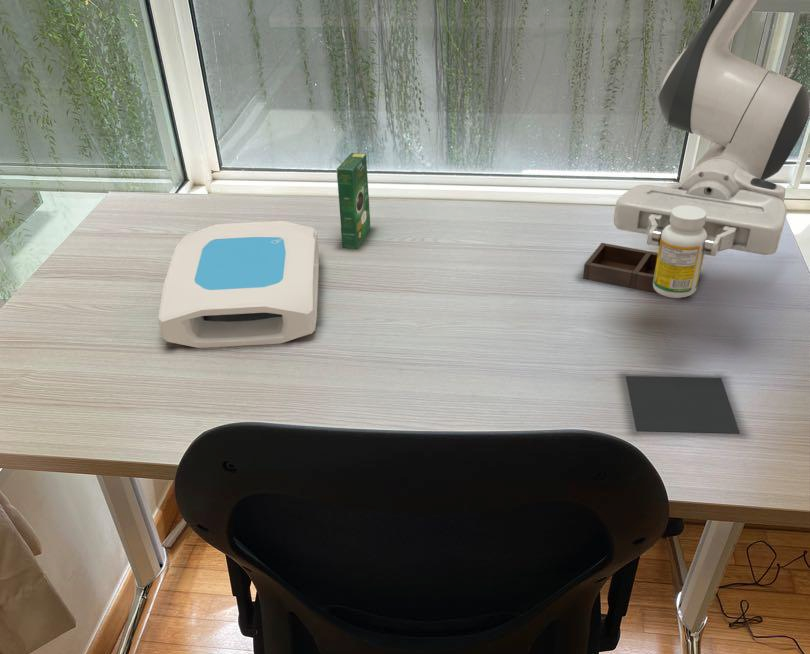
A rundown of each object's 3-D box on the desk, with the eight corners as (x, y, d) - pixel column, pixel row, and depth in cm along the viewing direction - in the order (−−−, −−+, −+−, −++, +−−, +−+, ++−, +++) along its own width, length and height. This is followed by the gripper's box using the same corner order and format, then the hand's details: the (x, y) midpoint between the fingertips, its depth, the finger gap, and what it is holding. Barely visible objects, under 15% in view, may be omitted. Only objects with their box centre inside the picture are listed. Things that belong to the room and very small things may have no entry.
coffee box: (355, 230, 149) (350, 150, 140) (371, 231, 149) (367, 151, 140) (341, 250, 143) (334, 168, 135) (357, 251, 143) (352, 170, 134)
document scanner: (164, 352, 121) (154, 311, 117) (189, 262, 142) (182, 224, 138) (316, 343, 122) (311, 302, 117) (319, 255, 142) (315, 217, 138)
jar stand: (697, 277, 133) (700, 260, 131) (683, 301, 128) (686, 283, 126) (599, 259, 138) (601, 242, 136) (582, 281, 133) (584, 263, 131)
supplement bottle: (678, 303, 105) (693, 225, 99) (642, 288, 109) (655, 211, 102) (705, 288, 108) (722, 212, 101) (670, 274, 111) (684, 199, 104)
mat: (720, 380, 112) (721, 377, 112) (738, 436, 103) (739, 432, 103) (625, 379, 113) (625, 375, 113) (635, 434, 104) (636, 430, 104)
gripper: (635, 164, 114) (600, 203, 105) (799, 188, 106) (776, 232, 98) (628, 212, 118) (594, 253, 109) (785, 238, 111) (762, 285, 102)
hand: (681, 244), depth 103 cm, fingers closed on supplement bottle, 5 cm apart
